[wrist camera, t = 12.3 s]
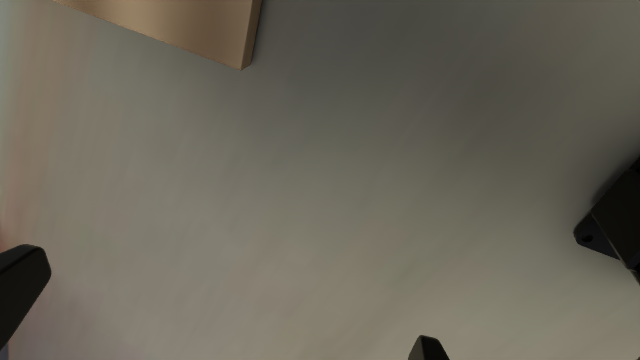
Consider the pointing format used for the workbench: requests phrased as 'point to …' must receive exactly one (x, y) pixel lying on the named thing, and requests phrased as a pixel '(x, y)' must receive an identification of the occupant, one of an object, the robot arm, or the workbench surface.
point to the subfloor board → (187, 24)
